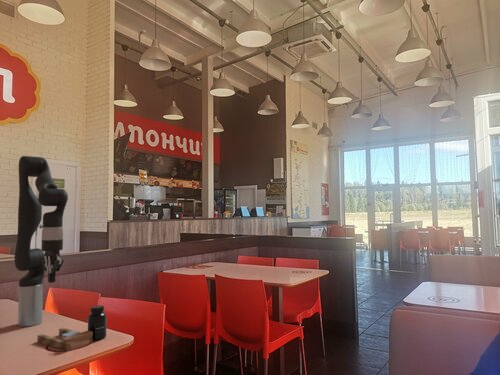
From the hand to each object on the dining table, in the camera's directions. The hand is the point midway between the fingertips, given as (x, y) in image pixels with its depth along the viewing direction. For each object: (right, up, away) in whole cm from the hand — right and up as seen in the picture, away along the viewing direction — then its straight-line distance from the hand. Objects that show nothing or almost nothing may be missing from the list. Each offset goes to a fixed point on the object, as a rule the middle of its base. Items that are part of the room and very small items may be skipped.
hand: (51, 282), depth 146 cm
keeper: (+12, -21, -8) cm, 26 cm away
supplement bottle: (+19, -21, -2) cm, 29 cm away
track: (+8, -21, -6) cm, 24 cm away
